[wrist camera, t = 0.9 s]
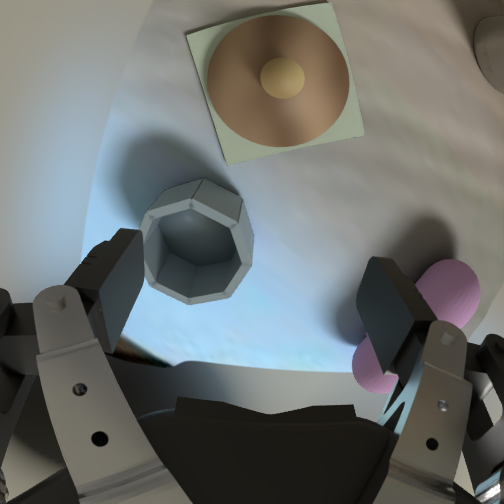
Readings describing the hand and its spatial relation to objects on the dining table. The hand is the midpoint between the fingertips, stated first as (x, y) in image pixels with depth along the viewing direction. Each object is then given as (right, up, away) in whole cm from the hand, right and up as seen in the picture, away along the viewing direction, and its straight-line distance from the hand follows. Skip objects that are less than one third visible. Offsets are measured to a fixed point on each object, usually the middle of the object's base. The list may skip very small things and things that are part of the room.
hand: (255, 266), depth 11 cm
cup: (-5, +3, +21) cm, 22 cm away
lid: (+2, +15, +13) cm, 20 cm away
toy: (+20, -7, +26) cm, 33 cm away
